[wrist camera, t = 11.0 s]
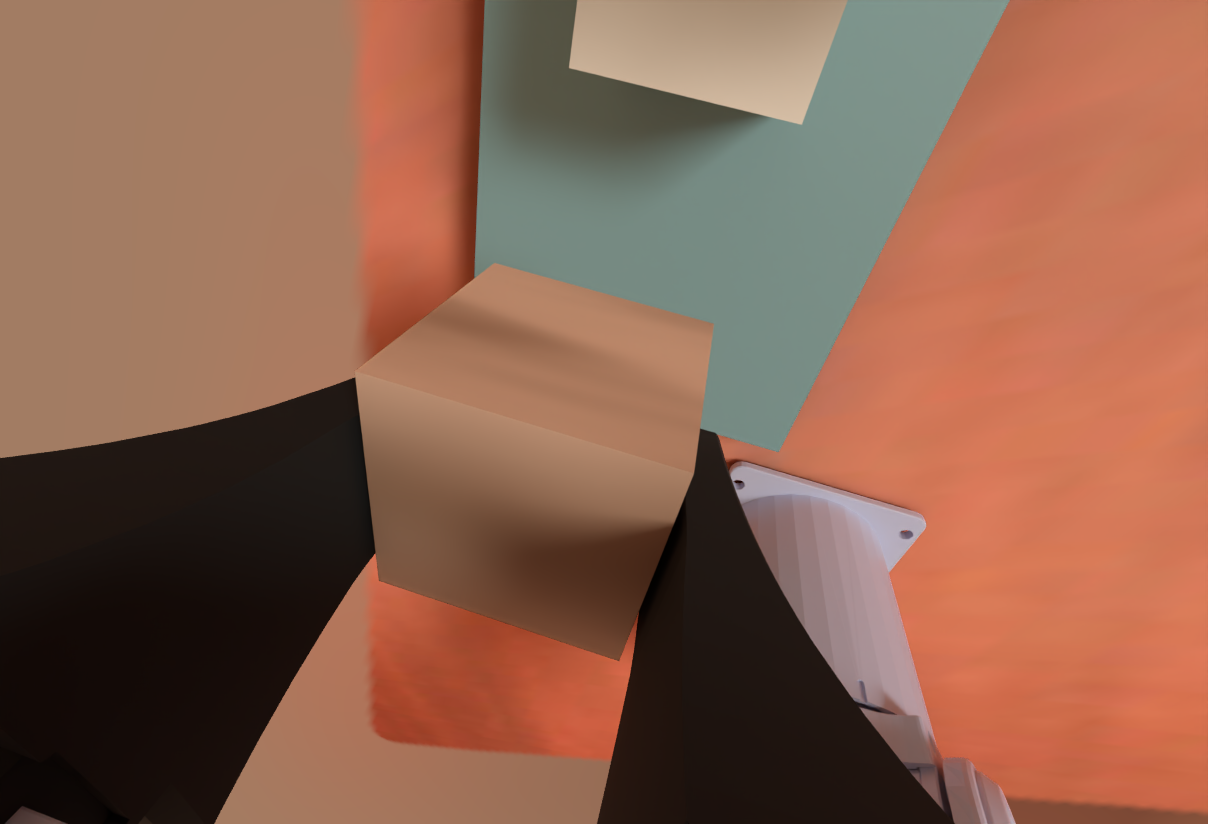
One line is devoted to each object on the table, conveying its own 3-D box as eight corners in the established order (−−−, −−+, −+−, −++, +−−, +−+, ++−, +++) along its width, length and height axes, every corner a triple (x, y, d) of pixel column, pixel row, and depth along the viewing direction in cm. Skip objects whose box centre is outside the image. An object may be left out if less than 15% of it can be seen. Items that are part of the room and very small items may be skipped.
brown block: (656, 488, 13) (619, 661, 9) (483, 435, 13) (378, 580, 9) (713, 323, 10) (693, 472, 6) (494, 262, 10) (354, 371, 7)
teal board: (776, 424, 20) (778, 452, 19) (490, 342, 21) (471, 362, 20) (1062, -163, 11) (1110, -199, 9) (527, -262, 12) (496, -308, 10)
